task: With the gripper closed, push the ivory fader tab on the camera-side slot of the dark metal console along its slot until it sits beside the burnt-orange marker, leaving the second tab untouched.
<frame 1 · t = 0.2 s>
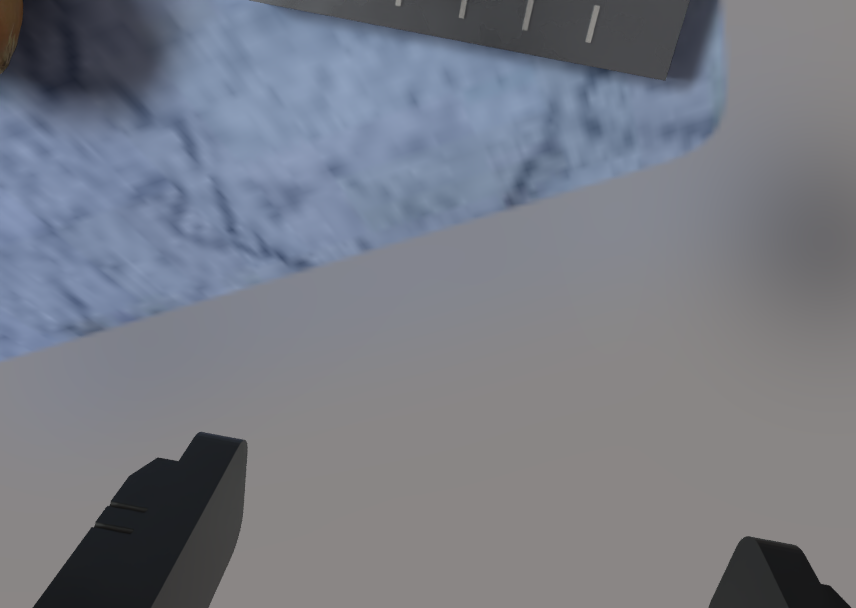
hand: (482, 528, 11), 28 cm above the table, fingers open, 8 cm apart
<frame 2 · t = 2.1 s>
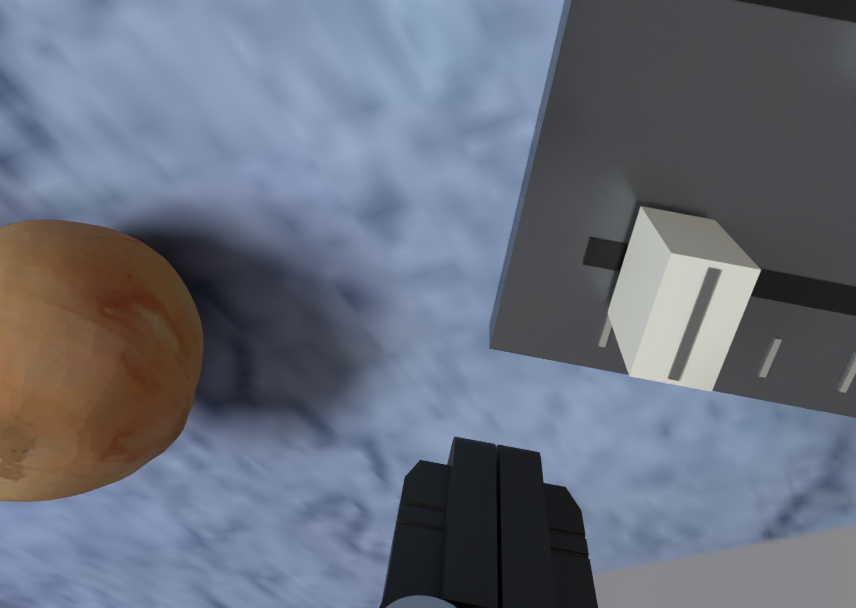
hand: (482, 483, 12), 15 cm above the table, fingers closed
fader a: (674, 294, 22), point 5 cm above the table, slide at -5.0 cm
onion: (127, 297, 29), on the table
console: (826, 150, 24), on the table
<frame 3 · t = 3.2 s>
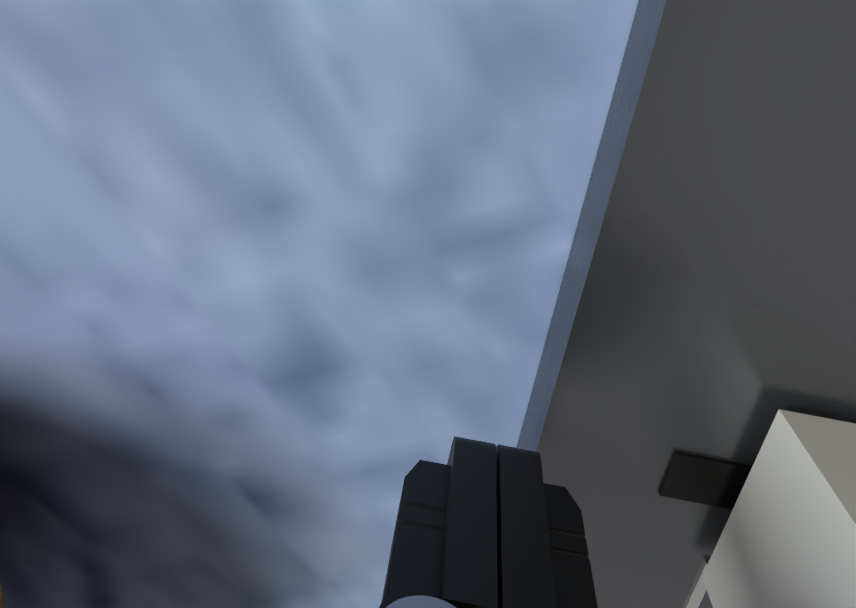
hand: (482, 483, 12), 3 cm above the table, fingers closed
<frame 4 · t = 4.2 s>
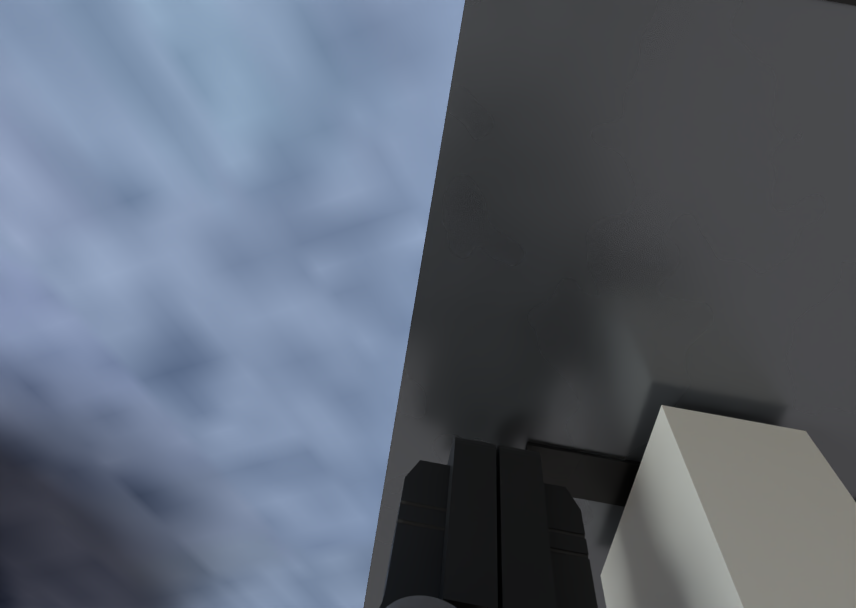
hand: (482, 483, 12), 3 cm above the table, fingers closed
fader a: (735, 606, 11), point 5 cm above the table, slide at -4.3 cm, touching gripper
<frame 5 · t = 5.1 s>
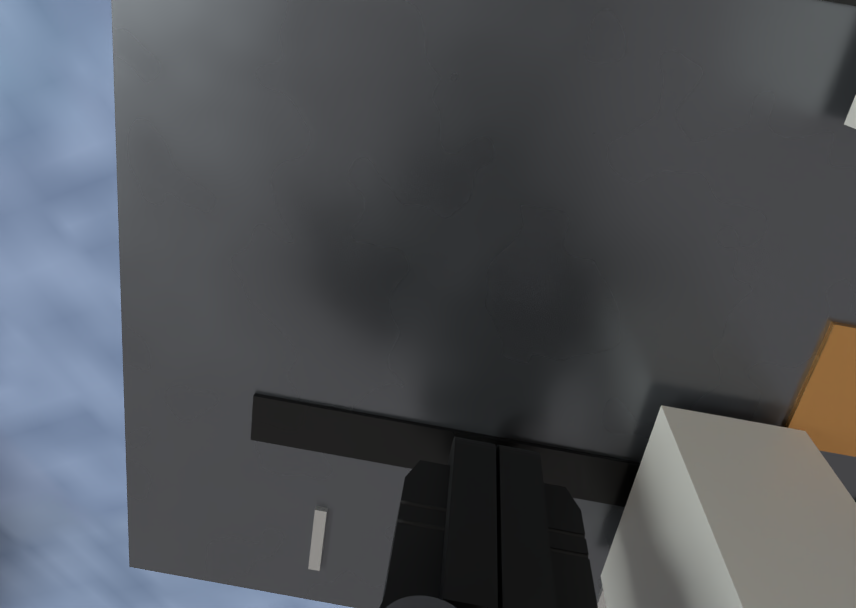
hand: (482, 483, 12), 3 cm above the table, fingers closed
fader a: (735, 607, 11), point 5 cm above the table, slide at 0.9 cm, touching gripper
console: (691, 227, 13), on the table
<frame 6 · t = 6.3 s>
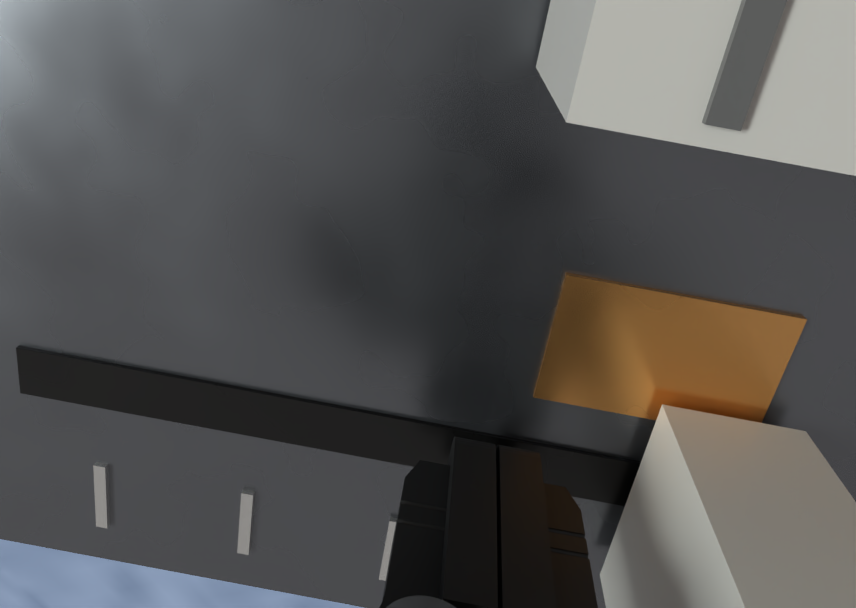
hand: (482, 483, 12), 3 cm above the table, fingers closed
fader a: (734, 606, 11), point 5 cm above the table, slide at 5.4 cm, touching gripper
console: (458, 184, 13), on the table
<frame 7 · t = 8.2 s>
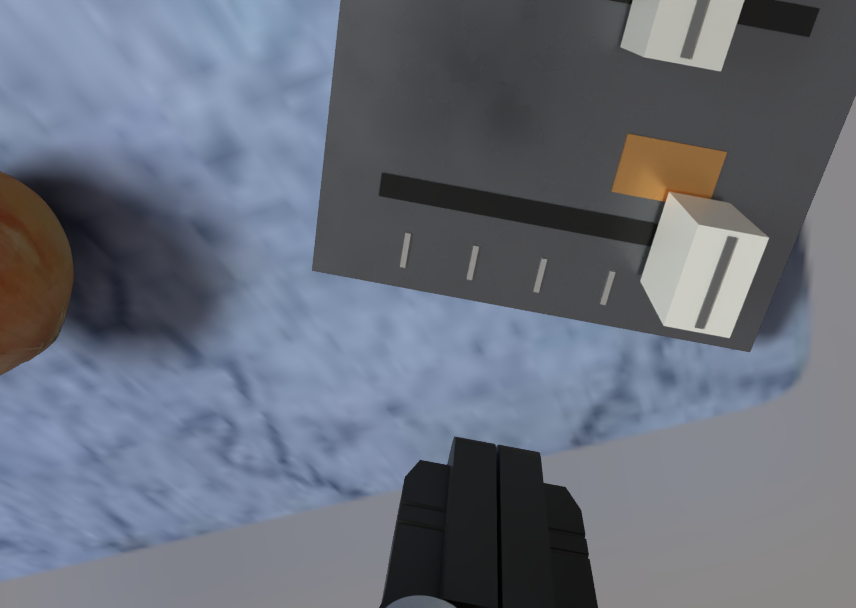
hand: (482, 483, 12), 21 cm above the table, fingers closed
fader a: (698, 262, 27), point 5 cm above the table, slide at 5.4 cm
onion: (18, 235, 34), on the table
console: (576, 101, 30), on the table
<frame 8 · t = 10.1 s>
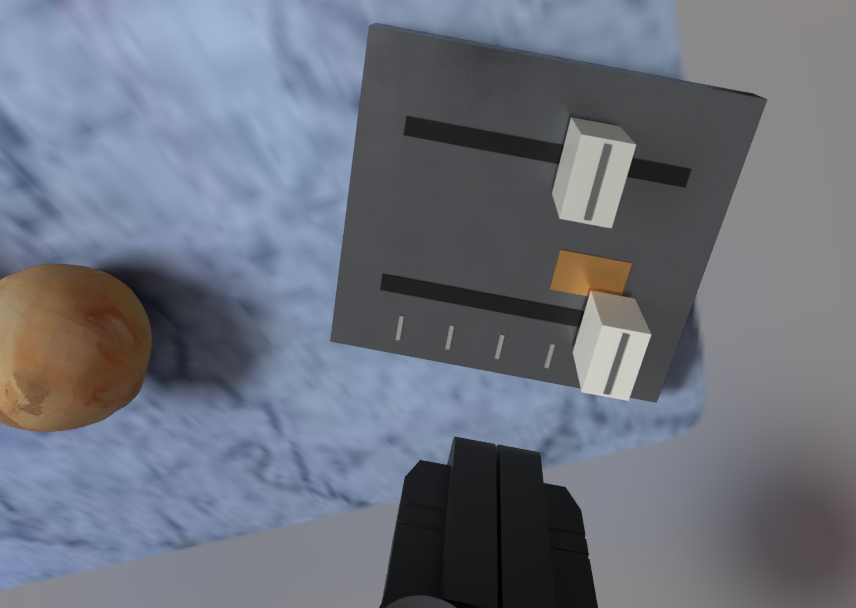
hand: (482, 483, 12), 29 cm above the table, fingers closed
fader b: (590, 171, 34), point 5 cm above the table, slide at 2.0 cm
fader a: (609, 344, 38), point 5 cm above the table, slide at 5.4 cm
onion: (105, 309, 45), on the table
console: (525, 221, 40), on the table
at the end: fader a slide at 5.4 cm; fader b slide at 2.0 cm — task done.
